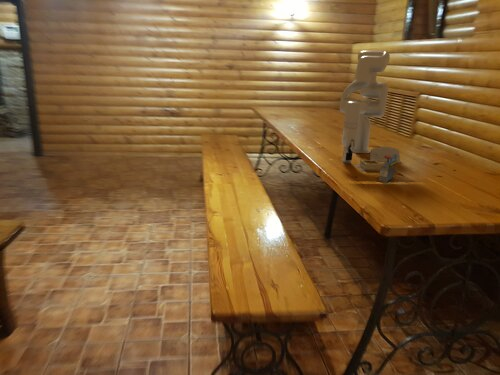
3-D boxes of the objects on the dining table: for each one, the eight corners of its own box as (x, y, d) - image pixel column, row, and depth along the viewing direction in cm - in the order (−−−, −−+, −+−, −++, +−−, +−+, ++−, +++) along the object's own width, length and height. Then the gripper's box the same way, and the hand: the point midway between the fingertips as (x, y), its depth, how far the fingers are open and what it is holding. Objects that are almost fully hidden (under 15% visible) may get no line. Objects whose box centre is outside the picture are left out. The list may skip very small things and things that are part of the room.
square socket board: (359, 166, 201) (361, 154, 199) (389, 166, 202) (391, 154, 199) (364, 170, 193) (366, 157, 191) (395, 171, 194) (397, 158, 192)
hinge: (370, 163, 212) (371, 145, 212) (368, 164, 217) (369, 146, 217) (401, 164, 211) (401, 146, 212) (398, 165, 216) (398, 147, 216)
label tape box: (385, 178, 186) (388, 153, 182) (393, 180, 184) (397, 155, 180) (378, 182, 180) (381, 156, 176) (386, 184, 177) (390, 158, 173)
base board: (353, 166, 205) (353, 164, 204) (386, 167, 206) (386, 164, 205) (361, 174, 192) (362, 171, 191) (396, 174, 193) (397, 172, 192)
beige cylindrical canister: (341, 163, 210) (343, 143, 206) (349, 163, 210) (351, 143, 206) (343, 165, 205) (345, 145, 202) (351, 165, 206) (354, 145, 202)
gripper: (339, 122, 208) (336, 154, 214) (348, 128, 192) (344, 163, 198) (353, 122, 209) (349, 155, 215) (363, 128, 193) (358, 163, 199)
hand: (347, 158), depth 207 cm, fingers closed on beige cylindrical canister, 4 cm apart
